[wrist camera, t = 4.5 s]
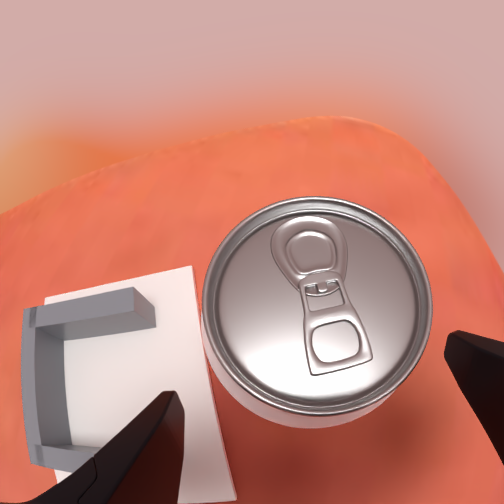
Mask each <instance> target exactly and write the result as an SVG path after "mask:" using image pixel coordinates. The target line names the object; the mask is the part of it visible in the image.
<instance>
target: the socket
mask: <svg viewBox="0 0 504 504" xmlns="http://www.w3.org/2000/svg"><path fill="white" fill-rule="evenodd" d="M21 386H22V403H23V414H24V423H25V431H26V438H27V445H28V451H29V456H30V461H31V464H35V465H39V466H43V467H47V468H51V469H54V470H55V474H56V478H57V482H58V483H59V482H61V481H62V480H64V479H65V478H66V477H68V476H69V475H70V474H72V473H73V472H74V471H76V470H77V469H78V468H79V467H81V466H82V465H83V464H84V463H85V462H86V461H88V460H89V459H90V458H91V457H94V454H96V453H97V452H98V451H99V450H100V449H101V448H102V447H103V446H104V445H106V444H107V443H108V442H109V441H110V440H111V439H112V438H113V437H114V436H115V435H116V434H118V433H119V432H120V431H121V430H122V429H123V428H124V427H125V426H126V425H127V424H128V423H129V422H130V421H132V420H133V419H134V418H135V417H136V416H137V415H138V414H139V413H140V412H141V411H142V410H143V409H144V408H145V407H146V406H147V405H148V404H150V403H151V402H152V401H153V400H154V399H155V398H156V397H157V396H158V395H159V394H160V393H161V392H162V391H170V390H174V391H176V392H177V394H178V396H179V398H180V401H181V403H182V405H183V408H184V411H185V431H184V459H183V466H182V473H181V481H180V488H179V496H178V503H177V504H187V503H212V502H225V501H235V500H236V499H237V495H236V491H235V487H234V483H233V479H232V475H231V471H230V467H229V463H228V459H227V455H226V451H225V446H224V442H223V437H222V433H221V428H220V424H219V419H218V414H217V409H216V404H215V399H214V394H213V389H212V384H211V378H210V373H209V367H208V362H207V356H206V351H205V348H204V344H203V338H202V330H201V319H200V312H199V305H198V298H197V291H196V283H195V276H194V269H193V267H192V266H187V267H183V268H178V269H173V270H169V271H164V272H160V273H155V274H151V275H146V276H142V277H137V278H133V279H128V280H124V281H119V282H115V283H110V284H105V285H101V286H96V287H92V288H87V289H83V290H78V291H74V292H69V293H65V294H60V295H56V296H51V297H47V298H45V305H42V306H37V307H32V308H27V309H24V313H23V325H22V342H21Z"/></svg>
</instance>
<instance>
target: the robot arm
mask: <svg viewBox="0 0 504 504" xmlns="http://www.w3.org/2000/svg"><path fill="white" fill-rule="evenodd" d="M444 357H445V360H446V362H447V364H448V366H449V368H450V370H451V372H452V374H453V376H454V377H455V379H456V381H457V383H458V386H459V387H460V389H461V391H462V393H463V395H464V396H465V398H466V399H467V401H468V403H469V404H470V406H471V407H472V409H473V411H474V412H475V414H476V416H477V417H478V419H479V421H480V423H481V424H482V426H483V428H484V429H485V431H486V433H487V435H488V437H489V438H490V440H491V442H492V444H493V446H494V448H495V449H496V451H497V453H498V455H499V457H500V459H501V461H502V463H503V465H504V342H501V341H497V340H493V339H490V338H486V337H482V336H479V335H475V334H471V333H468V332H464V331H460V330H457V331H454V332H452V333H450V334H449V335H448V337H447V342H446V346H445V351H444ZM184 431H185V411H184V408H183V405H182V403H181V401H180V398H179V396H178V394H177V392H176V391H174V390H170V391H162V392H161V393H160V394H159V395H158V396H157V397H156V398H155V399H154V400H153V401H152V402H151V403H150V404H148V405H147V406H146V407H145V408H144V409H143V410H142V411H141V412H140V413H139V414H138V415H137V416H136V417H135V418H134V419H133V420H132V421H130V422H129V423H128V424H127V425H126V426H125V427H124V428H123V429H122V430H121V431H120V432H119V433H118V434H116V435H115V436H114V437H113V438H112V439H111V440H110V441H109V442H108V443H107V444H106V445H104V446H103V447H102V448H101V449H100V450H99V451H98V452H97V453H96V454H94V457H91V458H90V459H89V460H88V461H86V462H85V463H84V464H83V465H82V466H81V467H79V468H78V469H77V470H76V471H74V472H73V473H72V474H70V475H69V476H68V477H66V478H65V479H64V480H62V481H61V482H59V483H58V484H56V485H55V486H53V487H52V488H50V489H49V490H47V491H46V492H44V493H43V494H41V495H39V496H38V497H36V498H34V499H32V500H30V501H27V502H22V503H2V502H0V504H177V503H178V496H179V488H180V481H181V473H182V466H183V459H184Z"/></svg>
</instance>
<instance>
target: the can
mask: <svg viewBox="0 0 504 504" xmlns="http://www.w3.org/2000/svg"><path fill="white" fill-rule="evenodd" d="M432 315H433V301H432V292H431V287H430V283H429V279H428V276H427V273H426V270H425V267H424V265H423V263H422V261H421V259H420V257H419V255H418V254H417V252H416V250H415V249H414V247H413V246H412V244H411V243H410V242H409V241H408V239H407V238H406V237H405V236H404V235H403V234H402V233H401V232H400V231H399V230H398V229H397V228H396V227H395V226H394V225H393V224H392V223H390V222H389V221H388V220H386V219H385V218H384V217H382V216H381V215H379V214H377V213H376V212H374V211H372V210H370V209H368V208H366V207H364V206H362V205H359V204H356V203H354V202H350V201H347V200H343V199H339V198H333V197H324V196H305V197H296V198H291V199H286V200H282V201H279V202H276V203H273V204H270V205H268V206H266V207H264V208H262V209H260V210H258V211H256V212H254V213H253V214H251V215H249V216H248V217H247V218H245V219H244V220H243V221H241V222H240V223H239V224H238V225H237V226H235V227H234V228H233V229H232V230H231V231H230V233H229V234H228V235H227V236H226V237H225V238H224V240H223V241H222V242H221V244H220V245H219V247H218V248H217V250H216V252H215V253H214V255H213V257H212V259H211V262H210V264H209V266H208V269H207V272H206V276H205V280H204V285H203V291H202V314H201V330H202V338H203V344H204V348H205V351H206V354H207V357H208V360H209V362H210V365H211V367H212V369H213V371H214V372H215V374H216V376H217V377H218V379H219V380H220V382H221V383H222V385H223V386H224V387H225V389H226V390H227V391H228V392H229V393H230V394H231V395H232V396H233V397H234V398H235V399H236V400H237V401H238V402H239V403H240V404H242V405H243V406H244V407H245V408H247V409H248V410H250V411H251V412H253V413H255V414H256V415H258V416H260V417H262V418H264V419H266V420H269V421H271V422H274V423H277V424H281V425H284V426H289V427H295V428H306V429H314V428H326V427H332V426H337V425H341V424H344V423H347V422H350V421H353V420H355V419H357V418H360V417H362V416H364V415H365V414H367V413H369V412H371V411H372V410H374V409H375V408H376V407H378V406H379V405H380V404H382V403H383V402H384V401H385V400H386V399H387V398H388V397H389V396H390V395H391V394H392V393H393V392H394V391H395V390H396V389H397V388H398V387H399V386H400V385H401V384H402V383H403V382H404V381H405V379H406V378H407V377H408V376H409V375H410V373H411V372H412V371H413V369H414V368H415V366H416V365H417V363H418V362H419V360H420V358H421V356H422V354H423V352H424V349H425V347H426V344H427V341H428V338H429V335H430V330H431V325H432Z"/></svg>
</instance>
